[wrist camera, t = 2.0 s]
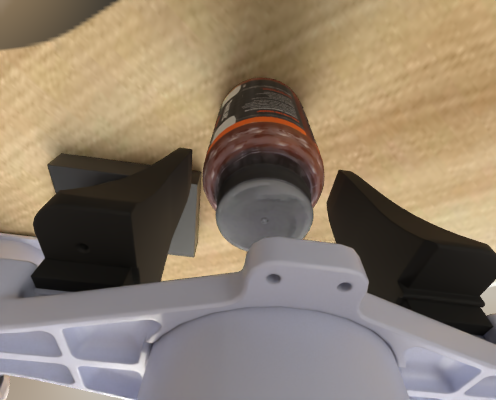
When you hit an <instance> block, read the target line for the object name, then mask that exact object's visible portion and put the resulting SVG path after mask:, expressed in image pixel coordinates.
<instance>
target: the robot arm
mask: <svg viewBox="0 0 496 400" xmlns="http://www.w3.org/2000/svg"><path fill="white" fill-rule="evenodd" d="M191 178H192V149H186V148H178V149H177V150H175V151H174V152H172V153H171V154H169V155H168V156H166V157H164V158H163V159H161V160H160V161H158V162H156V163H155V164H153V165H151V166H149V167H147V168H146V169H144V170H142V171H140V172H137V173H135V174H132V175H130V176H127V177H125V178H121V179H118V180H115V181H112V182H108V183H104V184H100V185H95V186H90V187H83V188H75V189H67V190H60V191H58V192H57V193H56V194H55V195H54V196H53V197H52V198H51V199H50V200H49V201H48V202H47V203H46V204H45V205H44V206H43V207H42V208H41V209H40V210H39V212H38V213H37V214H36V216H35V217H34V222H33V226H34V231H35V234H36V237H32V236H23V235H14V234H6V233H0V400H6V398H7V396H8V392H9V383H10V376H9V375H11V376H17V377H23V378H29V379H34V380H39V381H44V382H49V383H53V384H58V385H63V386H67V387H72V388H76V389H80V390H85V391H90V392H94V393H98V394H103V395H107V396H112V397H117V398H120V399H125V400H496V314H490V315H487V316H486V315H485V313H484V312H483V311H482V309H481V308H480V307H484V306H485V303H484V301H483V300H482V298H481V297H480V295H481V294H482V293H483V292H484V291H485V290H486V289H487V288H488V287H489V286H490V285H491V284H492V283H493V282H494V281H495V279H496V253H495V252H494V251H493V250H492V249H491V248H490V246H489V245H487V244H485V243H481V242H478V241H475V240H472V239H469V238H466V237H463V236H460V235H457V234H455V233H452V232H450V231H447V230H445V229H442V228H440V227H438V226H435V225H433V224H431V223H429V222H427V221H425V220H423V219H421V218H419V217H417V216H415V215H413V214H411V213H410V212H408V211H406V210H405V209H403V208H401V207H400V206H398V205H396V204H395V203H394V202H392V201H391V200H389V199H388V198H386V197H385V196H384V195H382V194H381V193H379V192H378V191H377V190H376V189H374V188H373V187H372V186H370V185H369V184H368V183H367V182H365V181H364V180H363V179H361V178H360V177H359V176H357V175H356V174H354V173H353V172H351V171H344V170H339V171H338V174H337V176H336V179H335V182H334V184H333V187H332V190H331V192H330V195H329V198H328V200H327V211H328V217H329V222H330V225H331V228H332V232H333V235H334V238H335V241H336V244H335V243H327V242H319V241H310V240H302V239H294V238H286V237H268V238H263V239H261V240H259V241H257V242H255V243H253V244H252V245H251V247H250V249H249V250H248V252H247V254H246V259H245V264H244V267H243V269H242V270H241V271H239V272H234V273H226V274H218V275H210V276H202V277H194V278H185V279H177V280H169V281H161V278H162V274H163V270H164V266H165V262H166V258H167V255H168V251H169V248H170V244H171V241H172V238H173V235H174V232H175V230H176V228H177V225H178V223H179V220H180V218H181V216H182V213H183V211H184V208H185V206H186V203H187V200H188V197H189V193H190V188H191Z"/></svg>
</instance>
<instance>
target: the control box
mask: <svg viewBox="0 0 496 400" xmlns="http://www.w3.org/2000/svg"><path fill="white" fill-rule="evenodd" d="M149 166H151V165H146V164H138V163H131V162H123V161H116V160H108V159H101V158H93V157H86V156H78V155H71V154H63V153H61V154H60V155H58V156H57V157H56V158H55V159H54V160H52V161H51V162H50V163H49V164H48V169H49V172H50V176H51V179H52V182H53V186H54V189H55V193H57V192H58V191H60V190H67V189H75V188H83V187H90V186H95V185H100V184H104V183H108V182H112V181H115V180H118V179H121V178H125V177H127V176H130V175H132V174H135V173H137V172H140V171H142V170H144V169H146V168H147V167H149ZM200 189H201V172H198V171H192V178H191V188H190V193H189V197H188V200H187V203H186V206H185V208H184V211H183V213H182V216H181V218H180V220H179V223H178V225H177V228H176V230H175V232H174V235H173V238H172V241H171V244H170V248H169V251H168V254H170V255H178V256H187V257H194V256H195V252H196V247H197V243H198V225H199V207H200Z"/></svg>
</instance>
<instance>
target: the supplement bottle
mask: <svg viewBox="0 0 496 400" xmlns="http://www.w3.org/2000/svg"><path fill="white" fill-rule="evenodd" d="M323 186H324V167H323V161H322V158H321V155H320V152H319V149H318V146H317V144H316V142H315V139H314V136H313V134H312V131H311V128H310V125H309V123H308V120H307V117H306V115H305V112H304V110H303V107H302V105H301V103H300V101H299V99H298V98H297V96H296V95H295V93H294V92H293V91H292V90H291V89H290V88H289V87H288V86H287V85H285V84H284V83H282V82H280V81H277V80H274V79H271V78H253V79H249V80H246V81H244V82H242V83H240V84H239V85H237V86H236V87H234V88H233V89H232V90H231V91H230V92H229V93H228V95H227V96H226V98H225V99H224V101H223V103H222V105H221V108H220V110H219V113H218V117H217V120H216V124H215V128H214V132H213V135H212V138H211V141H210V145H209V147H208V151H207V155H206V159H205V162H204V167H203V187H204V192H205V194H206V196H207V199H208V201H209V202H210V204H211V206H212V207H213V209H214V210H215V211H216V222H217V226H218V228H219V230H220V232H221V234H222V235H223V237H224V238H225V239H226V240H227V241H228V242H230V243H231V244H232V245H234V246H236V247H238V248H239V249H242V250H245V251H248V250H249V249H250V247H251V245H252V244H253V243H255V242H257V241H259V240H261V239H263V238H268V237H286V238H294V239H303V238H304V237H305V236H306V234H307V233H308V231H309V230H310V227H311V225H312V221H313V207H314V206H315V204H316V203H317V201H318V199H319V197H320V195H321V193H322V189H323Z"/></svg>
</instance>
